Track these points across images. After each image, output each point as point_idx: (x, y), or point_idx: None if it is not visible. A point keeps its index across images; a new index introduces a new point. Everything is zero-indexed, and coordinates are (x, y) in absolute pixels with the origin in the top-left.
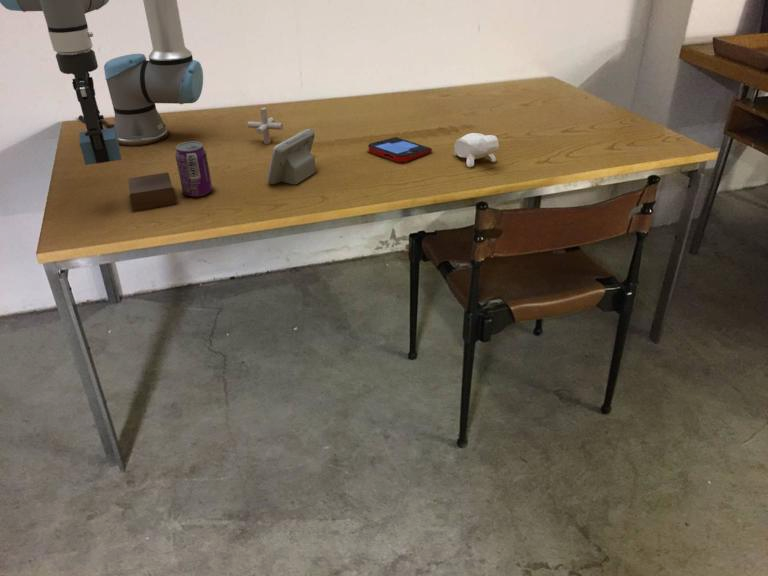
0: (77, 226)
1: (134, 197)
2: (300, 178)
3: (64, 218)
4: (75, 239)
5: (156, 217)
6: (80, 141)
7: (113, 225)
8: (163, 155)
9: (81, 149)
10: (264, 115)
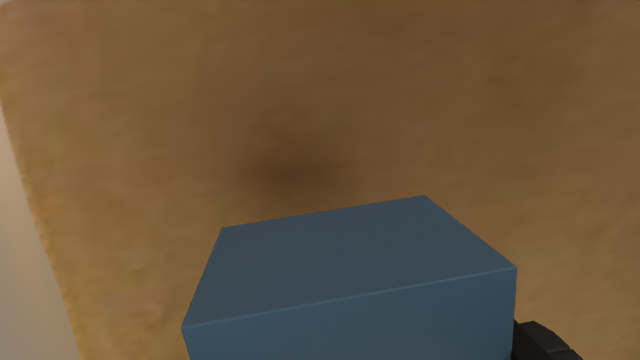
0: (174, 93)
1: None
2: None
3: (249, 37)
4: (71, 101)
5: None
6: (229, 329)
7: (163, 205)
8: (633, 279)
9: (198, 289)
10: None
